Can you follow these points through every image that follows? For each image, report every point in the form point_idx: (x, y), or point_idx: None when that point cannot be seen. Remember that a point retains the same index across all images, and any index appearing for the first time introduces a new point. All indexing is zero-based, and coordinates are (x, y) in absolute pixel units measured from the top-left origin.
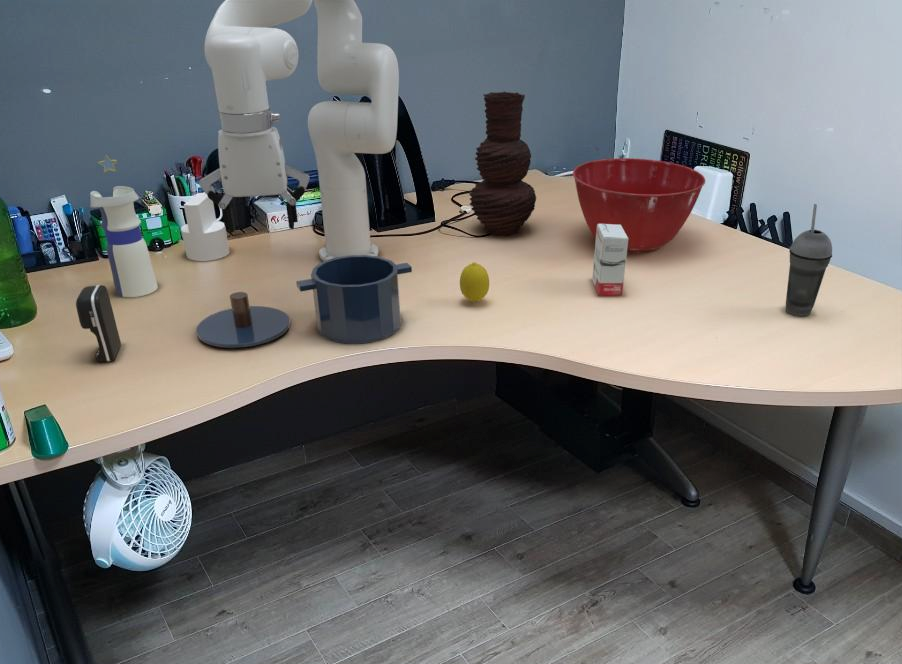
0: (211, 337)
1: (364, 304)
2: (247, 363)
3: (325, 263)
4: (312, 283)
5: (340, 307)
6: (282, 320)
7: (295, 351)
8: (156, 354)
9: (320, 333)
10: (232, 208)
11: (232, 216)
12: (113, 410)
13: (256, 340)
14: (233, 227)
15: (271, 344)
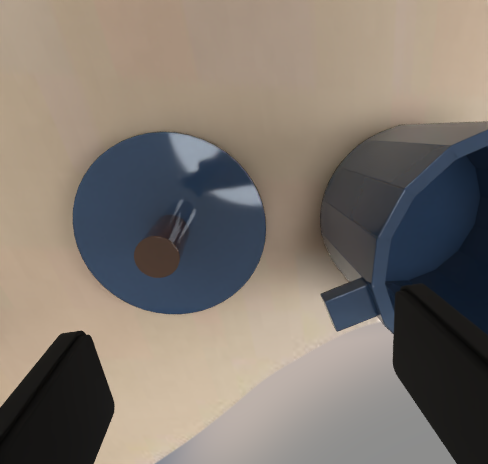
0: (125, 287)
1: None
2: (213, 346)
3: (416, 193)
4: (369, 316)
5: None
6: (250, 215)
7: (286, 309)
8: (43, 316)
9: (326, 247)
10: (22, 429)
11: (69, 445)
12: None
13: (216, 300)
14: (104, 418)
15: None
